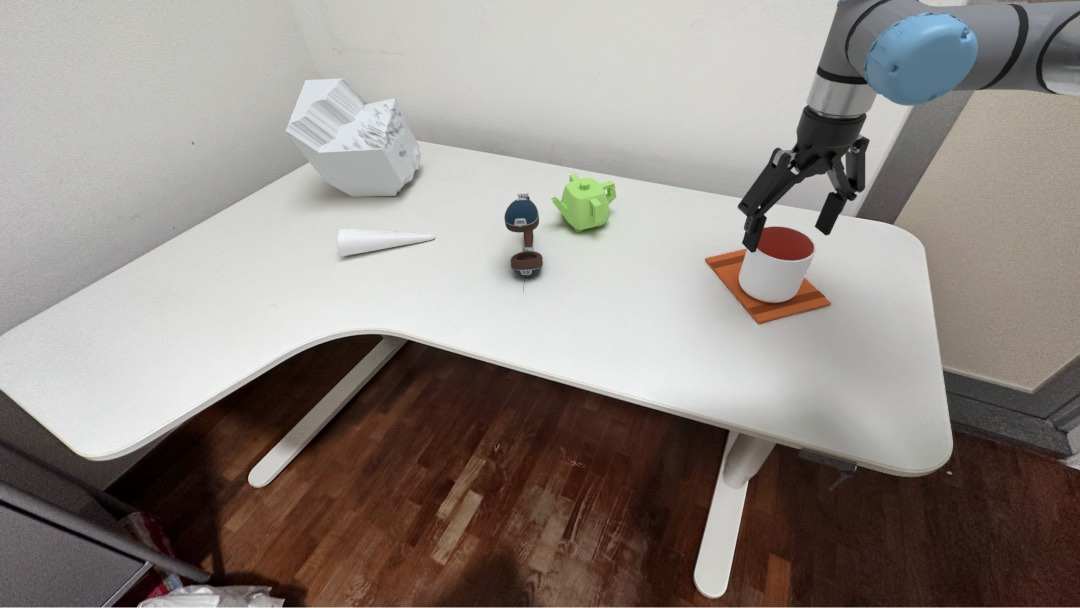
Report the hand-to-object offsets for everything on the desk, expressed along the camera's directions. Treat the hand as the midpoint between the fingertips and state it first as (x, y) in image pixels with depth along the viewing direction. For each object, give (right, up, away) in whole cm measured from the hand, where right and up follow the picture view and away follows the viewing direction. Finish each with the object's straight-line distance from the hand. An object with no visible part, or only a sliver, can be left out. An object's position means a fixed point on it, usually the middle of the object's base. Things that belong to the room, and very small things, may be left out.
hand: (785, 239), depth 75 cm
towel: (+1, -6, +10) cm, 12 cm away
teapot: (-31, +8, +27) cm, 42 cm away
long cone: (-73, +1, +25) cm, 77 cm away
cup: (+1, -8, +8) cm, 11 cm away
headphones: (-43, -4, +17) cm, 46 cm away
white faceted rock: (-82, +19, +43) cm, 95 cm away
